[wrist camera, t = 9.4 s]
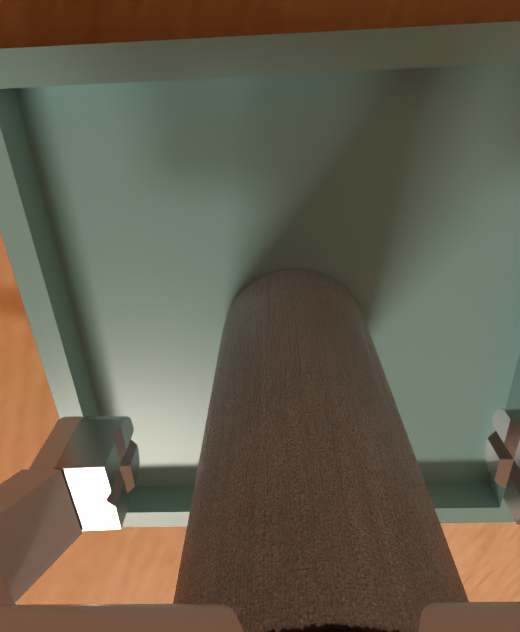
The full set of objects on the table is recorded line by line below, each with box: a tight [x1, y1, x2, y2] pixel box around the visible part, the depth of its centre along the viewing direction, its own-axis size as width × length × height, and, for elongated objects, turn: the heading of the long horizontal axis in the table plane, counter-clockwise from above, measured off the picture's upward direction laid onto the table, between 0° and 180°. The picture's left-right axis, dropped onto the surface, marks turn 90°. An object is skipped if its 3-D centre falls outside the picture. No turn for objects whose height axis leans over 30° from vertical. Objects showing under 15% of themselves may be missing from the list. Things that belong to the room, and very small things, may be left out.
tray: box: [0, 21, 520, 527], centre depth 15 cm, size 16×16×2 cm
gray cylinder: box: [173, 270, 469, 632], centre depth 11 cm, size 4×4×10 cm
